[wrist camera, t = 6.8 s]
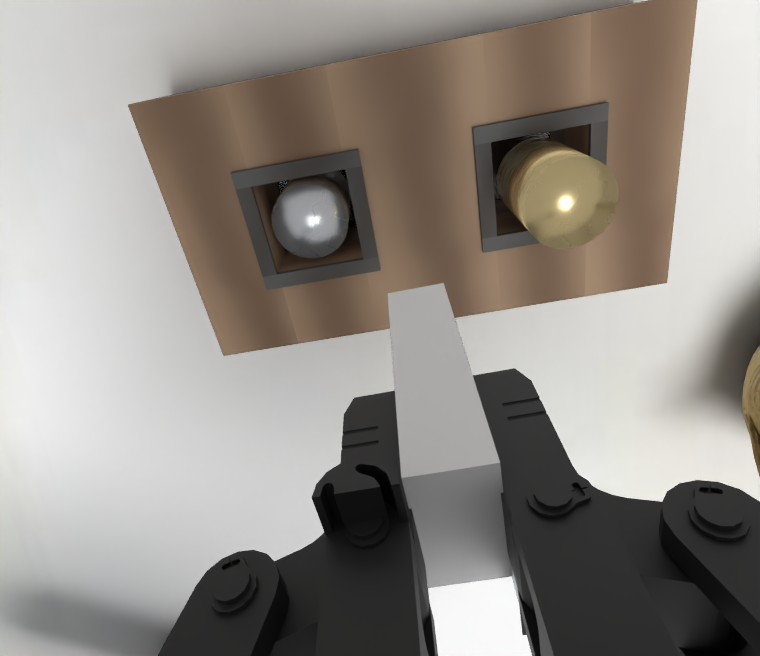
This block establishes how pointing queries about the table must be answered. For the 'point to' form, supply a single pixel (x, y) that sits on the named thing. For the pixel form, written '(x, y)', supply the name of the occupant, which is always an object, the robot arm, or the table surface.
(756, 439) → the ceramic bowl
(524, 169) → the brass peg
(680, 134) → the walnut block
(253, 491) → the table surface
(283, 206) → the steel peg
